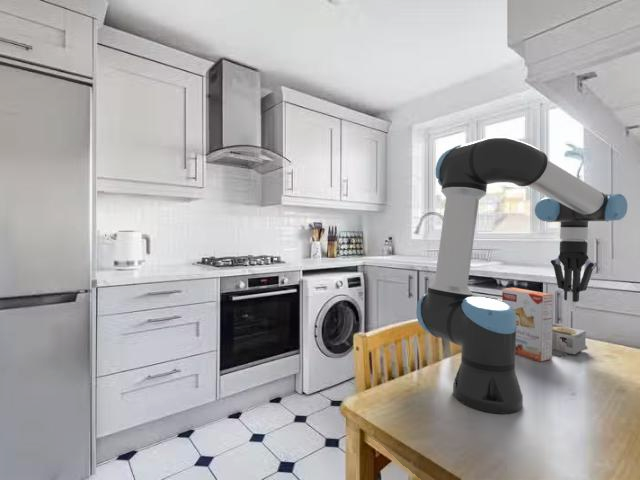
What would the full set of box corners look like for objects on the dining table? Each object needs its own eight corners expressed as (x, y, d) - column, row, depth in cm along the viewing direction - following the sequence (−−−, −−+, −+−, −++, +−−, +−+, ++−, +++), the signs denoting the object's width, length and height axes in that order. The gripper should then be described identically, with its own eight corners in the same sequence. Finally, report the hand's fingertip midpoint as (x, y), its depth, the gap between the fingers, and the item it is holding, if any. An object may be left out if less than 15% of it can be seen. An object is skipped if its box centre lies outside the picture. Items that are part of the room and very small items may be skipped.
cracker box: (500, 348, 121) (501, 287, 120) (511, 346, 124) (513, 286, 123) (540, 362, 108) (542, 295, 108) (552, 359, 111) (554, 293, 110)
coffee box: (585, 349, 119) (534, 337, 132) (586, 330, 118) (534, 320, 132) (574, 355, 114) (522, 342, 127) (574, 335, 113) (522, 324, 127)
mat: (559, 356, 113) (559, 355, 113) (516, 344, 126) (516, 342, 126) (586, 347, 122) (586, 346, 122) (544, 337, 135) (544, 335, 135)
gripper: (602, 241, 114) (599, 313, 115) (558, 239, 125) (556, 306, 126) (590, 241, 110) (588, 316, 111) (546, 239, 121) (544, 308, 122)
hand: (571, 310), depth 118 cm, fingers closed
